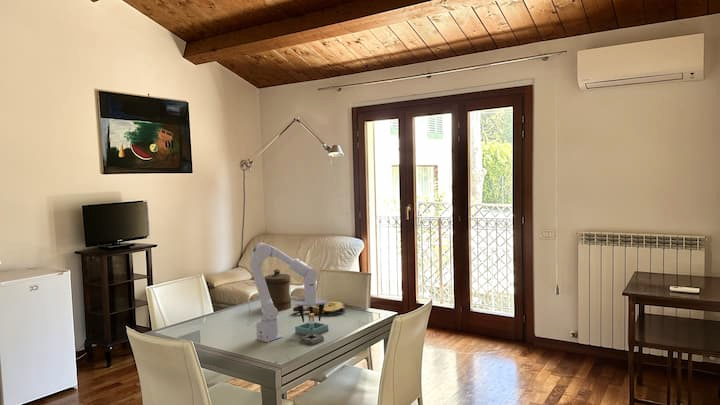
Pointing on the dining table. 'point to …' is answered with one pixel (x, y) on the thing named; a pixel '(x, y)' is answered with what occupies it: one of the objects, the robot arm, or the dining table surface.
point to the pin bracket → (311, 339)
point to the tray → (305, 330)
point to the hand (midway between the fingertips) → (311, 321)
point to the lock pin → (311, 321)
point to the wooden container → (279, 290)
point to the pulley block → (325, 309)
